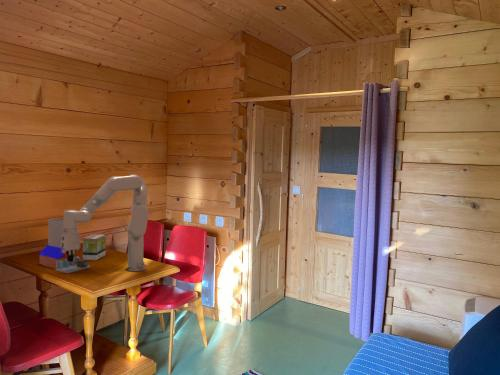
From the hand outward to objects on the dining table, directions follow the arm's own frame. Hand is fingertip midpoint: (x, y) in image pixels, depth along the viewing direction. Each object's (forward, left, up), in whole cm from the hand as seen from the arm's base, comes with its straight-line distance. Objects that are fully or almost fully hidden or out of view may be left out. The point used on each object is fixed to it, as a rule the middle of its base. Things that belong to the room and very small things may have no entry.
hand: (70, 261), depth 234 cm
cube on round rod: (0, -8, -5) cm, 10 cm away
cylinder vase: (+39, -20, -6) cm, 45 cm away
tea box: (+15, -30, -6) cm, 34 cm away
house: (+18, -4, -7) cm, 20 cm away
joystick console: (+3, -4, -6) cm, 8 cm away
